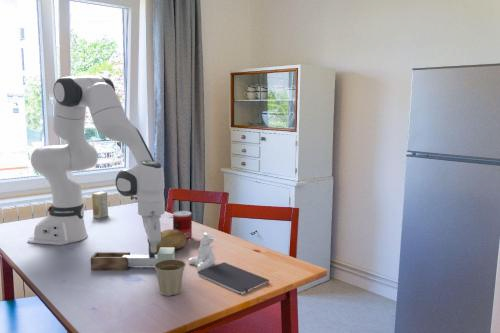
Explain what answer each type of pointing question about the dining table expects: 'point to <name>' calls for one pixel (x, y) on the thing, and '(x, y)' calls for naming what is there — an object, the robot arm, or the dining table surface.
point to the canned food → (183, 223)
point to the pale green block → (166, 253)
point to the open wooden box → (109, 261)
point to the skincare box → (100, 204)
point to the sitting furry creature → (204, 253)
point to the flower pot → (170, 276)
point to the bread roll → (171, 239)
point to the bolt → (142, 259)
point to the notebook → (232, 277)
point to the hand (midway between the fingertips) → (151, 247)
